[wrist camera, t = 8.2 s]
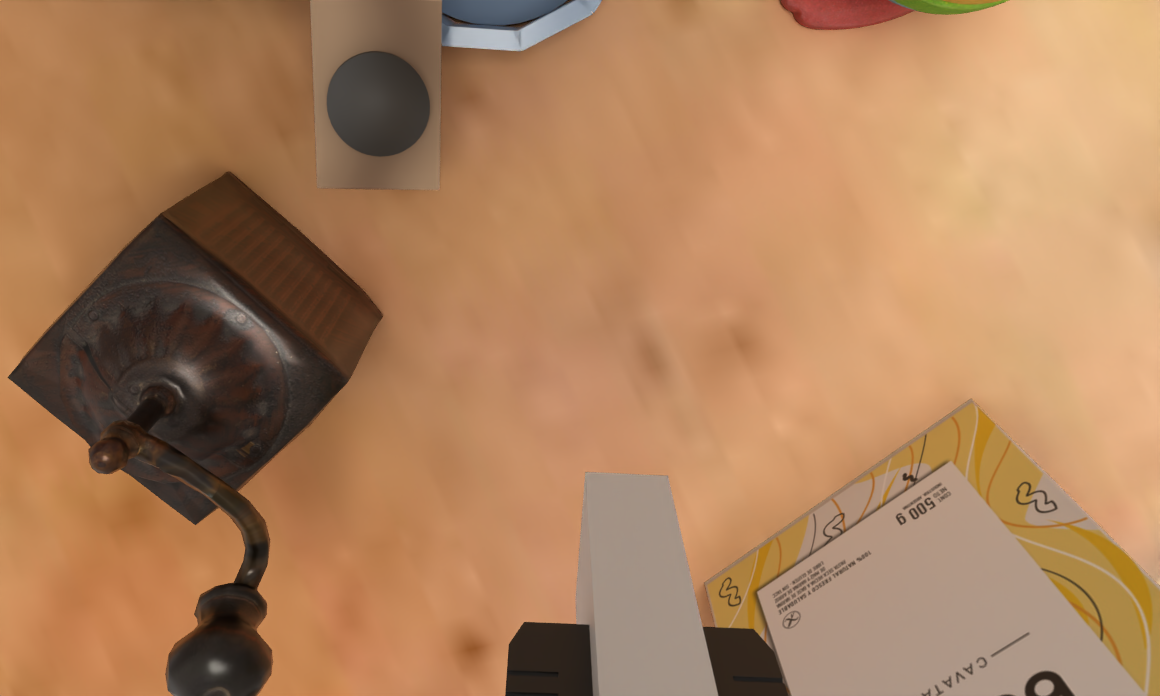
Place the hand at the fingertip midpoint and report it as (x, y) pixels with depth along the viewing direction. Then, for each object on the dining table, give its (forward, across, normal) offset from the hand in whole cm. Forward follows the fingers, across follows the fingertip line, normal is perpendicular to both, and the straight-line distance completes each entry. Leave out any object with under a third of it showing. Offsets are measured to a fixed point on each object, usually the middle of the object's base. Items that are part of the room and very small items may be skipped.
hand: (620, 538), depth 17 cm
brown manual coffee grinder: (+31, -15, -9) cm, 35 cm away
